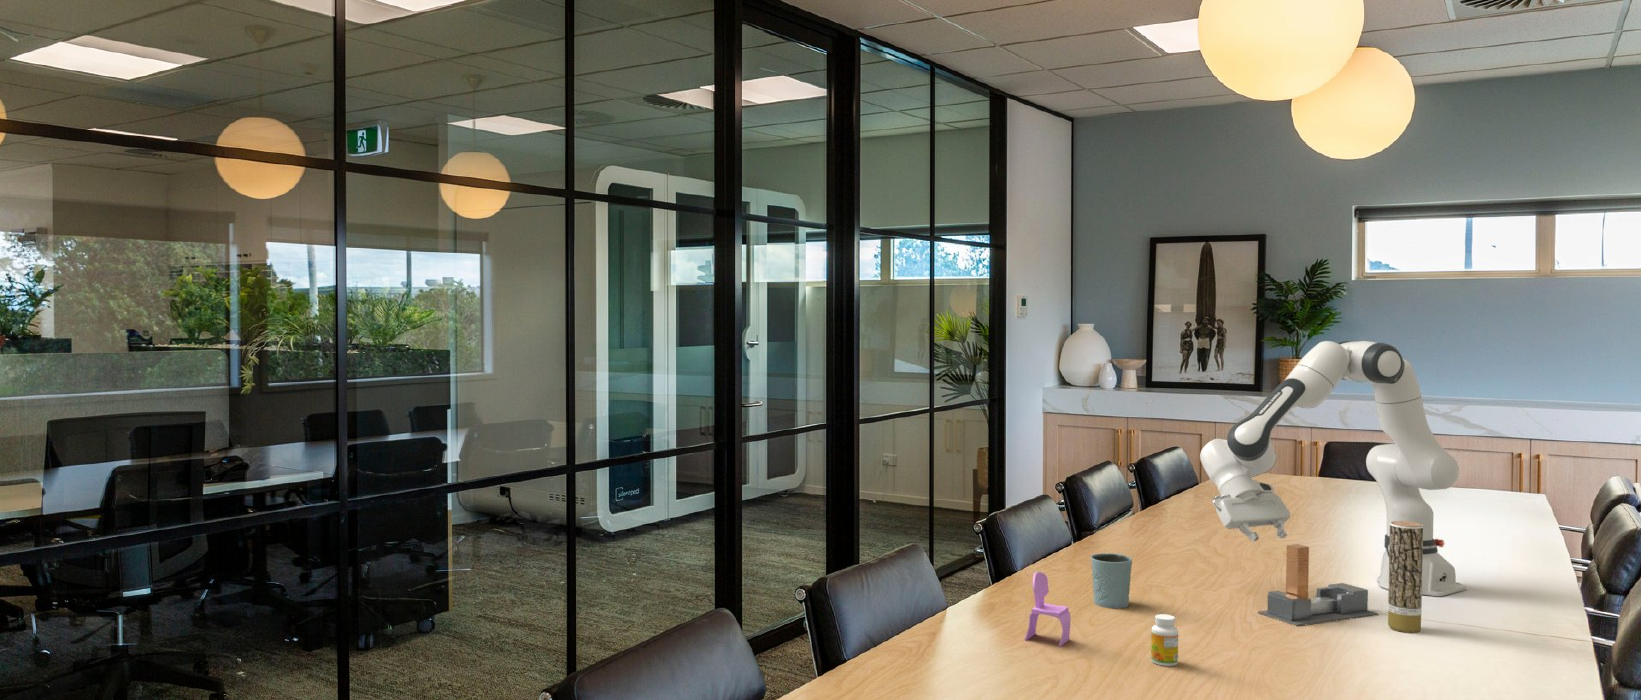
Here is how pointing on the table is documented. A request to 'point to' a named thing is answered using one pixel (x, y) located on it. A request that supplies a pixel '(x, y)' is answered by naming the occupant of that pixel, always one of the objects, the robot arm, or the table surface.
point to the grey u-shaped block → (1346, 597)
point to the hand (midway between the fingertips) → (1269, 538)
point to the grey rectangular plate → (1323, 617)
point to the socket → (1288, 606)
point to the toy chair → (1047, 609)
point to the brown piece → (1304, 579)
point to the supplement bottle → (1164, 641)
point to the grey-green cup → (1111, 579)
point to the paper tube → (1405, 576)
